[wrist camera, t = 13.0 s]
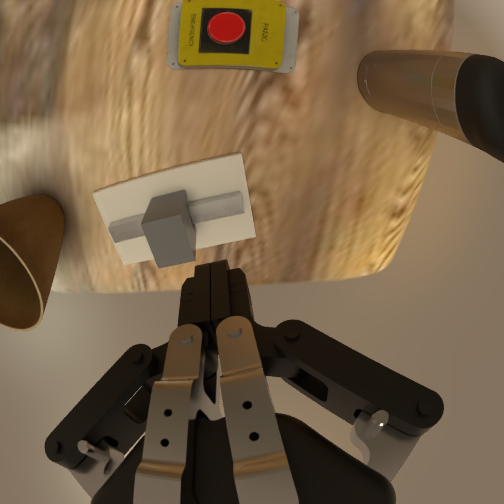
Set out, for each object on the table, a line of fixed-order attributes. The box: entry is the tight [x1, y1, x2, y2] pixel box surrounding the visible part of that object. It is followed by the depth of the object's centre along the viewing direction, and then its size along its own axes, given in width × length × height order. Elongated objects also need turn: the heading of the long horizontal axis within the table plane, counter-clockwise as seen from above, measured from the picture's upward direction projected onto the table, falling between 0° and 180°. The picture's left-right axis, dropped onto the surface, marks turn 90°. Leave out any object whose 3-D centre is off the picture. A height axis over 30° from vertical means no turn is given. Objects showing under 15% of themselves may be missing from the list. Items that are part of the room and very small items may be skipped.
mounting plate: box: [92, 152, 256, 265], centre depth 35 cm, size 20×12×1 cm, turn 99°
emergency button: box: [167, 0, 299, 73], centre depth 23 cm, size 9×4×15 cm
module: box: [141, 190, 197, 268], centre depth 32 cm, size 4×6×7 cm
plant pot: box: [0, 195, 65, 331], centre depth 26 cm, size 15×15×16 cm
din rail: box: [108, 191, 245, 243], centre depth 34 cm, size 18×2×2 cm, turn 99°
